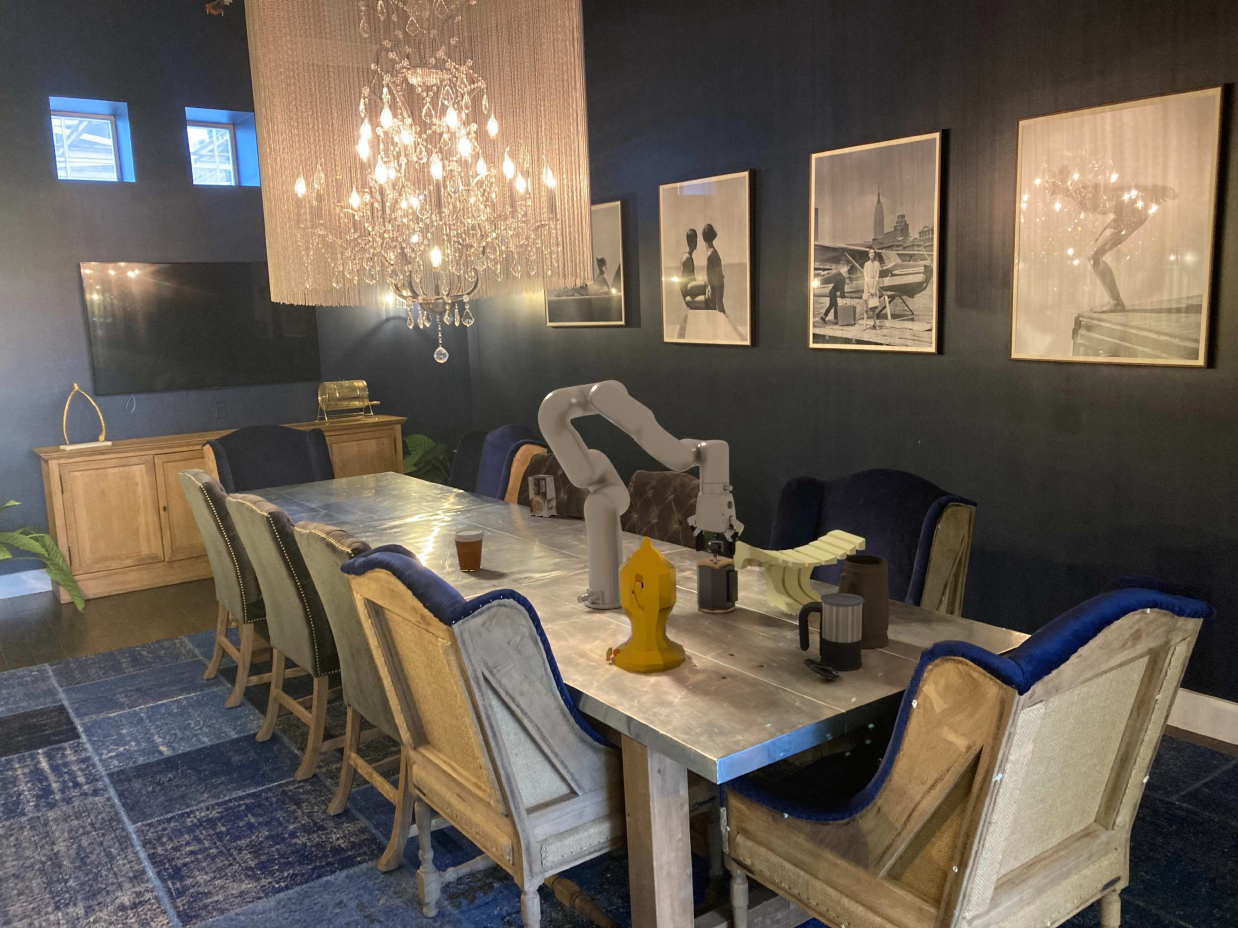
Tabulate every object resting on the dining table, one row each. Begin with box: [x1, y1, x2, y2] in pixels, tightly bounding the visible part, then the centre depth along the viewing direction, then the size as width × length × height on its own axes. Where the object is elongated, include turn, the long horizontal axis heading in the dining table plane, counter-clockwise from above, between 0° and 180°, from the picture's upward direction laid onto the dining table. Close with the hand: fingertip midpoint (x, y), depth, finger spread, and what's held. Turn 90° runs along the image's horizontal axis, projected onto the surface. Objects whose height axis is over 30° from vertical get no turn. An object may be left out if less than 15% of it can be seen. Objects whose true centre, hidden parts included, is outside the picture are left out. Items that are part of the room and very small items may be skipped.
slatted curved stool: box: [733, 529, 866, 616], centre depth 253 cm, size 30×16×18 cm, turn 110°
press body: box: [696, 555, 739, 615], centre depth 251 cm, size 10×11×13 cm
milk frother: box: [797, 592, 865, 681], centre depth 204 cm, size 14×16×15 cm
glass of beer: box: [452, 528, 485, 571], centre depth 300 cm, size 10×10×12 cm
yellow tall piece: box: [604, 536, 687, 674], centre depth 213 cm, size 18×24×28 cm
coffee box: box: [527, 474, 558, 518], centre depth 385 cm, size 9×6×16 cm
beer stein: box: [837, 554, 890, 649], centre depth 220 cm, size 15×11×20 cm
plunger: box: [707, 540, 724, 562], centre depth 250 cm, size 6×6×15 cm
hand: (715, 553), depth 250 cm, fingers open, 9 cm apart
